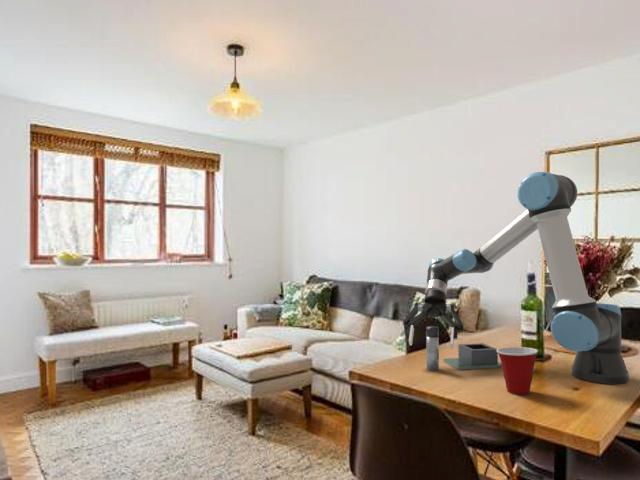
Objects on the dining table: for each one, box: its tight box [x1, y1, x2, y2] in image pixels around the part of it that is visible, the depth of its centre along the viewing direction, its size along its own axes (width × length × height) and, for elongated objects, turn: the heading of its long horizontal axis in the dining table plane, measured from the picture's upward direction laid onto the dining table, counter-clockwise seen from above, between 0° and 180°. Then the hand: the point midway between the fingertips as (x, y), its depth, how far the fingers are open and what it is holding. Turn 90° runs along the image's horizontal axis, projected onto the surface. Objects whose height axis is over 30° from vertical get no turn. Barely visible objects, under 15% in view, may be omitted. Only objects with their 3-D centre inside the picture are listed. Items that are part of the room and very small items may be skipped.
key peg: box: [425, 325, 440, 372], centre depth 151 cm, size 4×4×14 cm
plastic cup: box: [496, 346, 539, 396], centre depth 128 cm, size 11×11×12 cm
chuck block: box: [443, 343, 502, 371], centre depth 157 cm, size 11×16×6 cm
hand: (430, 344), depth 152 cm, fingers open, 13 cm apart
